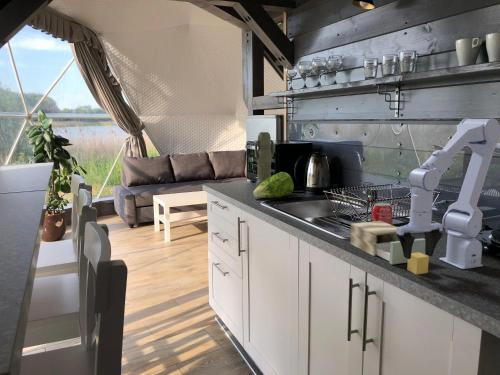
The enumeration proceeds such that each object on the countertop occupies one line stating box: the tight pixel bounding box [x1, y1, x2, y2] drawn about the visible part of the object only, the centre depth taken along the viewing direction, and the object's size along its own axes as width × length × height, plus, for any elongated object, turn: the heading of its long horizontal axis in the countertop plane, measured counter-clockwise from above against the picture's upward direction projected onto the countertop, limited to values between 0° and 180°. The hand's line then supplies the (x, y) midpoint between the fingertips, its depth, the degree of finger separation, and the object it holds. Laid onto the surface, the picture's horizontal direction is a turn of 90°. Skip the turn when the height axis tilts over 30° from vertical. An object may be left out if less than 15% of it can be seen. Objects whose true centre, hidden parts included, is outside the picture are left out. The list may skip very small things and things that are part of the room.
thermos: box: [254, 131, 275, 188], centre depth 254 cm, size 9×12×35 cm
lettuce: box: [252, 171, 295, 199], centre depth 238 cm, size 14×23×13 cm, turn 117°
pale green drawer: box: [376, 237, 426, 265], centre depth 139 cm, size 14×12×7 cm
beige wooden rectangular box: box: [349, 220, 399, 257], centre depth 147 cm, size 14×12×7 cm
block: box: [406, 252, 430, 275], centre depth 126 cm, size 4×4×5 cm
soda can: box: [371, 202, 393, 225], centre depth 163 cm, size 7×7×12 cm
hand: (418, 256), depth 125 cm, fingers open, 7 cm apart
